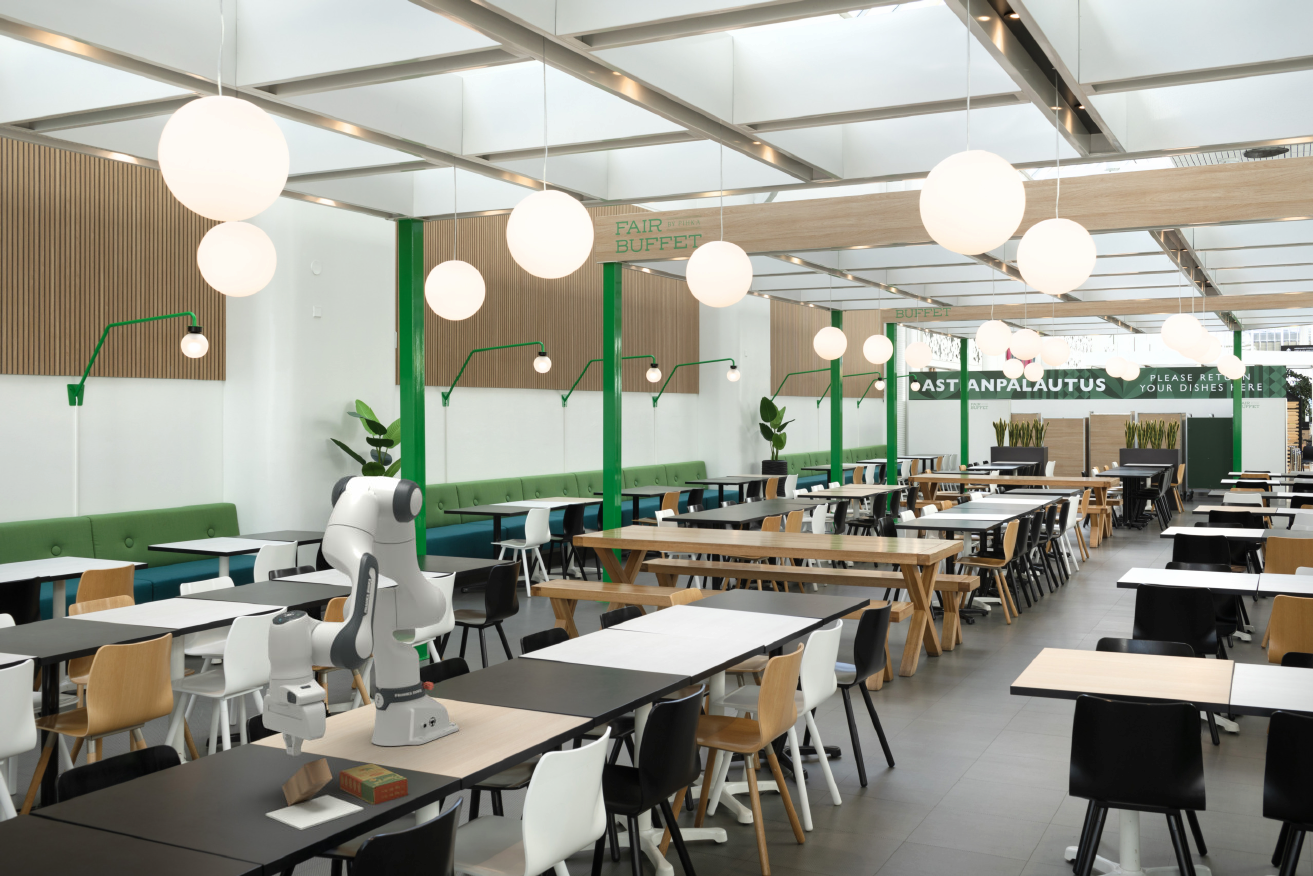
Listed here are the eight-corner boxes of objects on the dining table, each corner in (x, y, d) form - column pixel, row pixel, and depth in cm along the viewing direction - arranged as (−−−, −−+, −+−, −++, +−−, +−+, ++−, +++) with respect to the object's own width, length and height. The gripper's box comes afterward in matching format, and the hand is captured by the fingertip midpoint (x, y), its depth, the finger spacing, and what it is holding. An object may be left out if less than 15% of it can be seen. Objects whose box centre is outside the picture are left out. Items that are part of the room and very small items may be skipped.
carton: (373, 781, 234) (373, 762, 234) (409, 797, 222) (408, 776, 222) (339, 790, 229) (338, 770, 229) (373, 806, 217) (373, 786, 217)
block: (301, 781, 223) (325, 758, 216) (307, 801, 221) (332, 778, 215) (281, 786, 220) (305, 763, 213) (288, 807, 218) (312, 784, 211)
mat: (327, 796, 223) (327, 795, 223) (363, 810, 214) (363, 808, 214) (265, 815, 213) (265, 813, 213) (301, 830, 203) (301, 828, 203)
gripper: (253, 686, 225) (255, 750, 225) (302, 698, 211) (304, 766, 211) (280, 680, 230) (283, 743, 229) (330, 692, 216) (332, 758, 216)
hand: (293, 754), depth 220 cm, fingers closed
